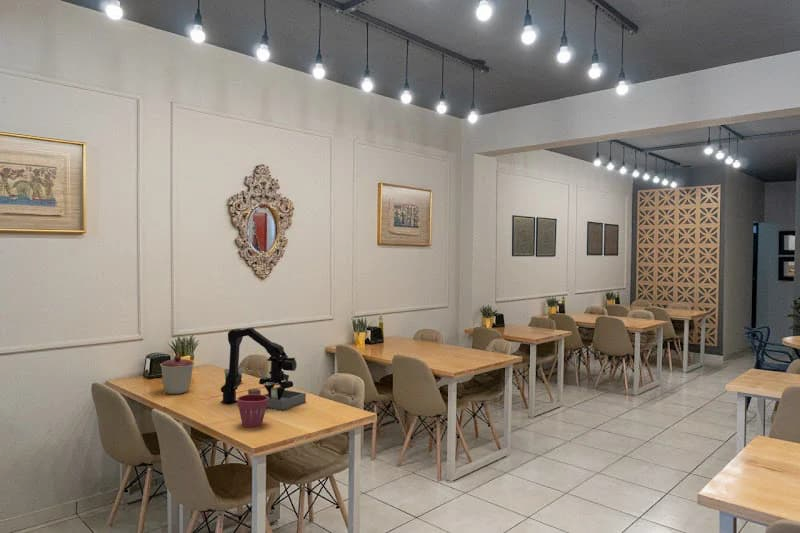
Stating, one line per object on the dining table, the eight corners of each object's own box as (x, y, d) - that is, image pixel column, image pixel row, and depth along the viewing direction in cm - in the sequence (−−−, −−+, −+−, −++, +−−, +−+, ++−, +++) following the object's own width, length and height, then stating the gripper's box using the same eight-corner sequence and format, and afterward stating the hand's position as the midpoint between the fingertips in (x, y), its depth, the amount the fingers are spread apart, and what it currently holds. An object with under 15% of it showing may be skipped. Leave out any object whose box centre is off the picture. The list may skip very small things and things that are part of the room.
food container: (229, 387, 327) (230, 370, 327) (223, 385, 331) (224, 369, 331) (246, 383, 337) (247, 367, 337) (240, 382, 341) (241, 366, 341)
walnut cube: (260, 399, 302) (260, 390, 302) (251, 400, 299) (251, 391, 299) (256, 397, 306) (256, 388, 306) (248, 398, 303) (248, 389, 303)
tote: (282, 411, 280) (282, 401, 280) (256, 406, 288) (256, 396, 288) (305, 402, 298) (305, 393, 298) (280, 397, 305) (281, 389, 305)
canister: (160, 389, 317) (161, 353, 317) (193, 387, 323) (194, 352, 323) (158, 397, 300) (159, 359, 300) (193, 395, 306) (194, 357, 306)
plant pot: (270, 420, 264) (271, 394, 264) (264, 429, 250) (265, 401, 250) (240, 419, 263) (241, 393, 263) (232, 428, 249) (233, 401, 249)
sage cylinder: (276, 403, 285) (276, 390, 285) (268, 402, 287) (269, 388, 287) (282, 401, 289) (282, 388, 289) (275, 399, 292) (275, 386, 292)
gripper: (299, 369, 291) (299, 398, 291) (272, 365, 299) (271, 393, 300) (286, 372, 281) (285, 402, 281) (258, 368, 289) (258, 397, 290)
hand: (275, 398), depth 288 cm, fingers closed on sage cylinder, 5 cm apart
